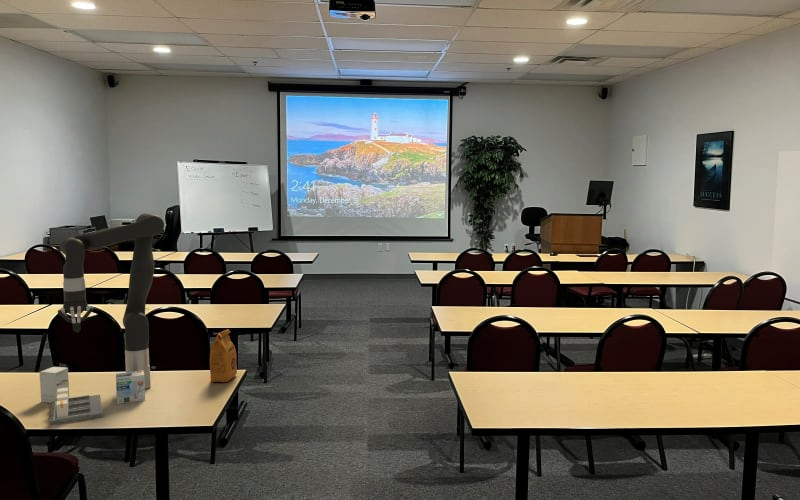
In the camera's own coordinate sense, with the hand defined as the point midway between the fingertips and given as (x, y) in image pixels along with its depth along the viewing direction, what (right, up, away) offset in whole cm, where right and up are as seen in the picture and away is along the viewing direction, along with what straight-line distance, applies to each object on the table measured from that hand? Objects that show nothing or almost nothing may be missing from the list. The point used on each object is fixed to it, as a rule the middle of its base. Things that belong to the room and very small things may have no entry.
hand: (76, 331), depth 234 cm
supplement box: (-12, -29, +6) cm, 32 cm away
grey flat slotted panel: (+3, -30, -6) cm, 31 cm away
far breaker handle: (-5, -27, -1) cm, 28 cm away
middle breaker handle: (-1, -28, -8) cm, 29 cm away
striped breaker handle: (+3, -29, -15) cm, 33 cm away
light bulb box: (+18, -29, +7) cm, 35 cm away
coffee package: (+49, -26, +32) cm, 64 cm away
